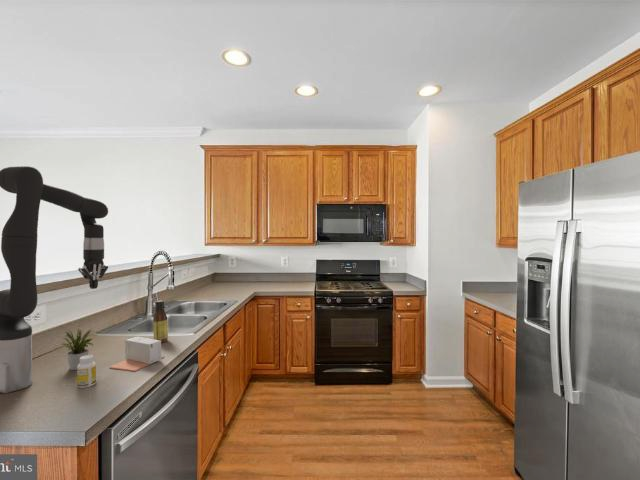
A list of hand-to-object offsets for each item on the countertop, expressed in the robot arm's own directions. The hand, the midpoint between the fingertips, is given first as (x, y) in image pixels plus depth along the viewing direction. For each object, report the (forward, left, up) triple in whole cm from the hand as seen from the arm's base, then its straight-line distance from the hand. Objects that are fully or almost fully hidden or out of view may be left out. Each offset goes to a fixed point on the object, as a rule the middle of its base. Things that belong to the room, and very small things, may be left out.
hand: (93, 288), depth 148 cm
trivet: (-2, -25, -29) cm, 38 cm away
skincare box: (+1, -18, -24) cm, 30 cm away
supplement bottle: (-24, -24, -29) cm, 45 cm away
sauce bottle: (+24, -14, -29) cm, 40 cm away
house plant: (-14, -6, -29) cm, 33 cm away
